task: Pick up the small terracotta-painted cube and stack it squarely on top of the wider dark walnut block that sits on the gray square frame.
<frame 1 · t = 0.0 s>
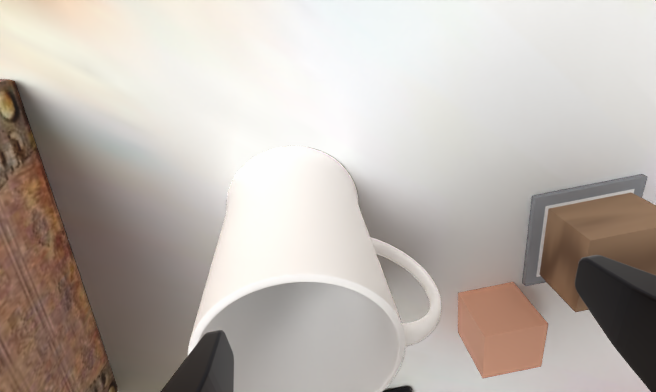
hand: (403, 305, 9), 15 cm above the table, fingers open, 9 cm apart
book: (6, 271, 24), on the table
base block: (583, 235, 27), resting on gray square frame
cube: (484, 307, 30), on the table
gray square frame: (578, 232, 28), on the table
mug: (316, 210, 25), on the table
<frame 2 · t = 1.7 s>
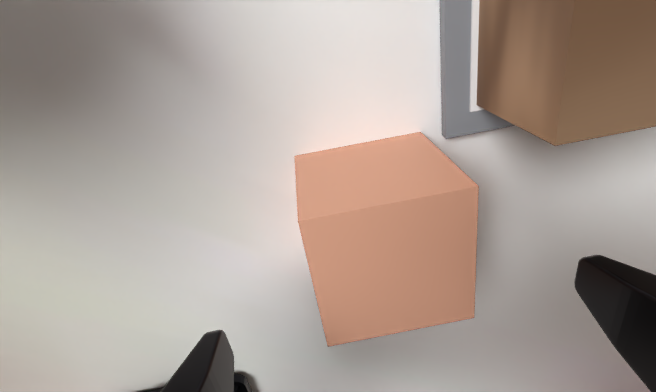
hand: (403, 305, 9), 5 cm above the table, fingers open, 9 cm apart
cube: (364, 198, 14), on the table
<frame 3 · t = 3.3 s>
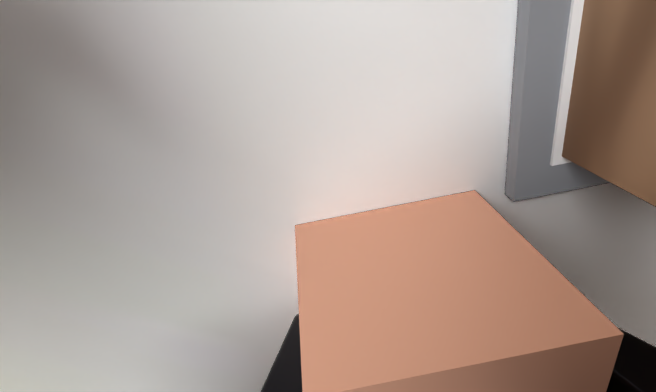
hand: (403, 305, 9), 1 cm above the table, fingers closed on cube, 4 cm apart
cube: (392, 278, 10), on the table, touching gripper
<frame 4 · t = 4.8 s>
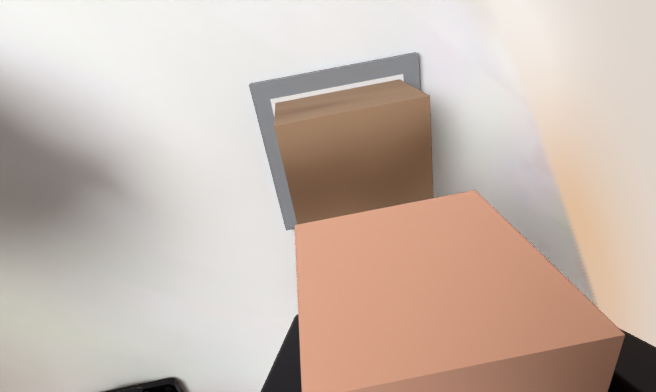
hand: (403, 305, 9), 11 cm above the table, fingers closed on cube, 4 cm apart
base block: (346, 150, 19), resting on gray square frame
cube: (392, 278, 10), point 10 cm above the table, touching gripper
gray square frame: (345, 147, 19), on the table
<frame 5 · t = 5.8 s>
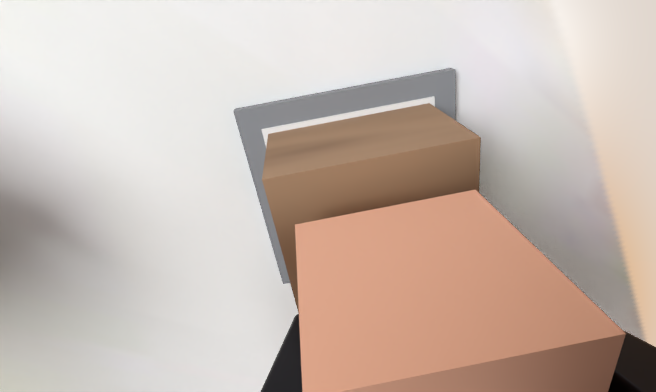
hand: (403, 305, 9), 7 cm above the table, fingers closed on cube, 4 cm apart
base block: (359, 190, 15), resting on gray square frame
cube: (392, 277, 10), point 6 cm above the table, touching gripper
gray square frame: (357, 185, 15), on the table
when the fingers open (7 cm above the table, at t = 6.3 s): cube drops 1 cm, resting on base block.
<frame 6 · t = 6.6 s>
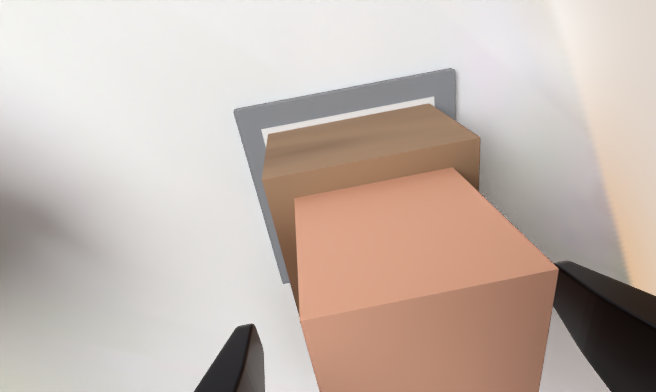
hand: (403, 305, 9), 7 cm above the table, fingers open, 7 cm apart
base block: (358, 190, 15), resting on gray square frame, touching cube
cube: (381, 247, 11), point 4 cm above the table, touching base block
gray square frame: (356, 185, 15), on the table
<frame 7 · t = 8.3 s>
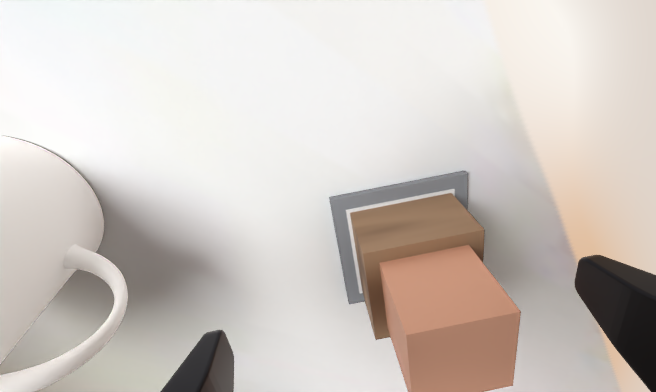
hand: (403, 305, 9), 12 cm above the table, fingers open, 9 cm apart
base block: (404, 244, 23), resting on gray square frame, touching cube
cube: (426, 288, 19), point 4 cm above the table, touching base block
gray square frame: (401, 240, 23), on the table
mug: (54, 216, 20), on the table
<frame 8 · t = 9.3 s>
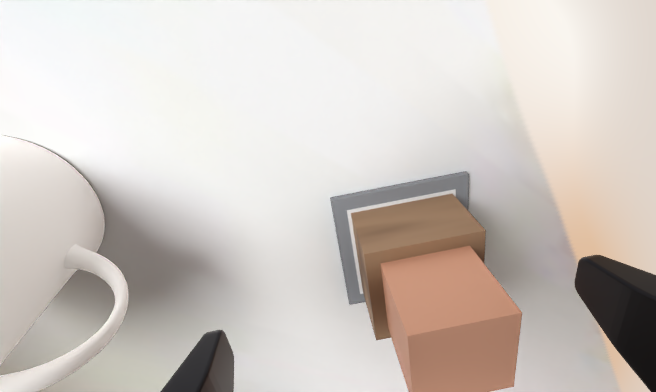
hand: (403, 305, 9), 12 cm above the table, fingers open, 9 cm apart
base block: (404, 245, 23), resting on gray square frame, touching cube
cube: (426, 288, 19), point 4 cm above the table, touching base block
gray square frame: (402, 240, 23), on the table
mug: (55, 216, 20), on the table
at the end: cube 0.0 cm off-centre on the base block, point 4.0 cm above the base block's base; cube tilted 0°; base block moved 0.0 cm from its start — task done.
